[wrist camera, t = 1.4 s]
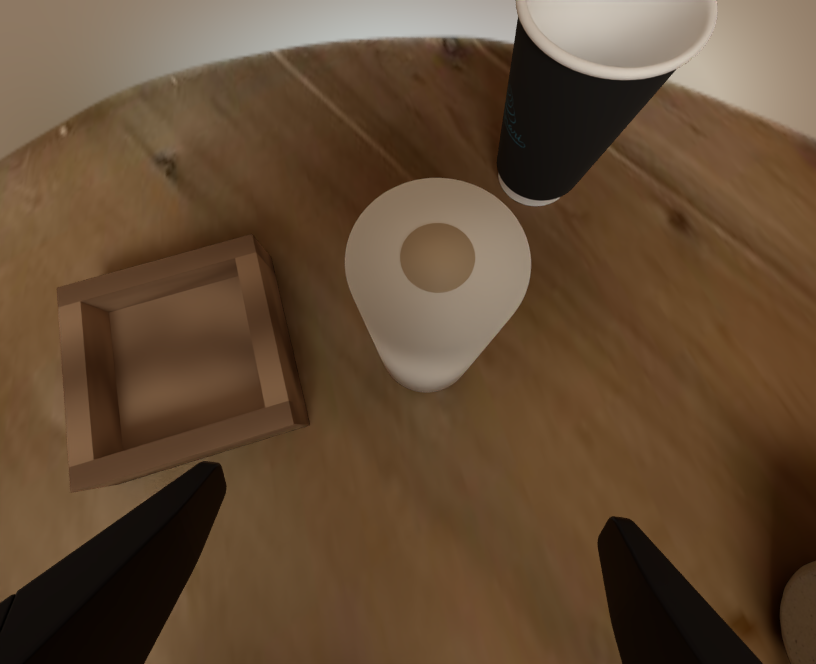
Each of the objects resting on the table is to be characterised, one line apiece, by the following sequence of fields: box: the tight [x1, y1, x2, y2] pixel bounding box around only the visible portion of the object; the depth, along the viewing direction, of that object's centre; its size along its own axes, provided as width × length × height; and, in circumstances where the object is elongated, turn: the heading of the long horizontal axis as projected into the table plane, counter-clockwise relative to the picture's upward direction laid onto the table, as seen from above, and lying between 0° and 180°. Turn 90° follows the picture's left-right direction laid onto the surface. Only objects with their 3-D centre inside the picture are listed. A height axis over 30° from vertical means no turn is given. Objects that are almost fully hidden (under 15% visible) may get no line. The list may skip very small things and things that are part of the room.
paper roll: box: [345, 178, 531, 392], centre depth 17 cm, size 6×6×12 cm
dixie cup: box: [497, 0, 718, 206], centre depth 20 cm, size 8×8×11 cm
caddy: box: [57, 234, 310, 493], centre depth 21 cm, size 11×11×3 cm
